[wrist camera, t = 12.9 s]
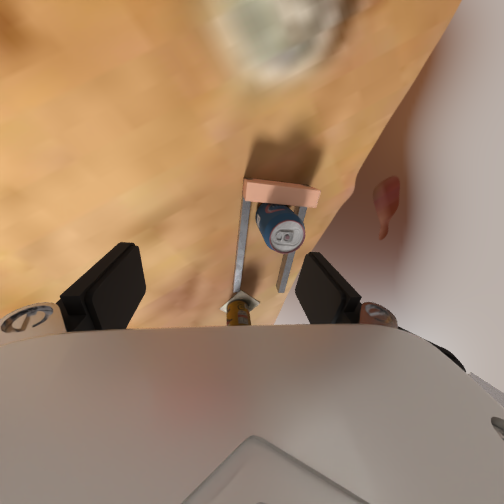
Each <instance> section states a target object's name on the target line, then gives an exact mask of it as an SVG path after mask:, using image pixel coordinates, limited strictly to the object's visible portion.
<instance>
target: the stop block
mask: <svg viewBox="0 0 504 504" xmlns="http://www.w3.org/2000/svg"><path fill="white" fill-rule="evenodd" d="M252 179H253V178H252ZM242 192H243V193H242V194H243V197H244V199H245V201H252V202H262V203H272V204H282V205H292V206H302V207H312V208H316V206H317V203H318V200H319V196H320V193H321V191H320V190H318V189H315V188H313V187H306V186H303V185H301V184H294V183H286V182H278V181H269V180H261V179H253V180H248V179H245V178H244V184H243V191H242Z"/></svg>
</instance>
